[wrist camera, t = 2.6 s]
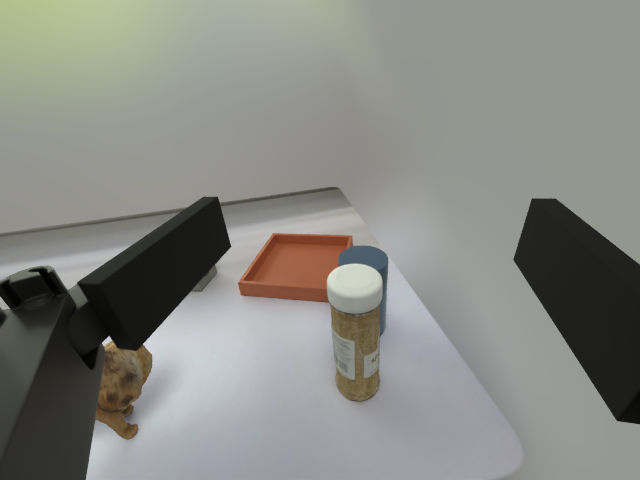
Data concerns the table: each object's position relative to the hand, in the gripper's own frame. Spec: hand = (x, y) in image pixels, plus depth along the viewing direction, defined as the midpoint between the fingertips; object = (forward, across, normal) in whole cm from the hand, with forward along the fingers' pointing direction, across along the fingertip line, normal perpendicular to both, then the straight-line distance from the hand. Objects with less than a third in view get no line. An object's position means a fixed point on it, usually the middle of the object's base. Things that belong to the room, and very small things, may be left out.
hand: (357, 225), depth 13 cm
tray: (+26, -12, -22) cm, 36 cm away
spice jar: (+7, -1, -22) cm, 23 cm away
